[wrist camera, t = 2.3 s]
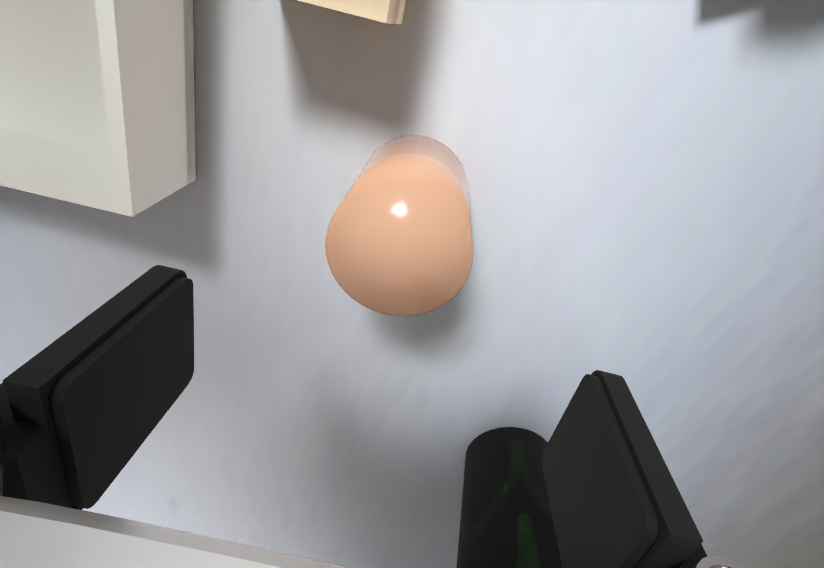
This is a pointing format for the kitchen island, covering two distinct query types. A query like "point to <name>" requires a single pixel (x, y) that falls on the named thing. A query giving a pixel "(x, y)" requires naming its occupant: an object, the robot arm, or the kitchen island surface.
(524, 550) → the cup
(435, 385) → the kitchen island surface
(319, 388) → the kitchen island surface
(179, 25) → the tote
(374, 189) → the cylinder
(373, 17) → the cube
